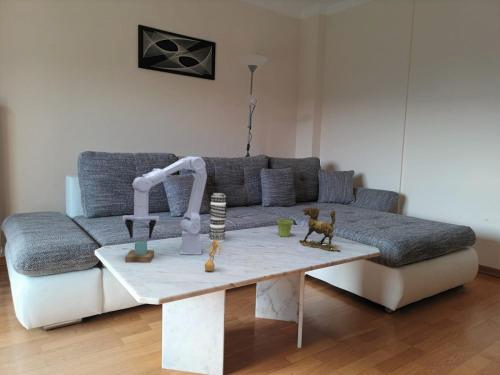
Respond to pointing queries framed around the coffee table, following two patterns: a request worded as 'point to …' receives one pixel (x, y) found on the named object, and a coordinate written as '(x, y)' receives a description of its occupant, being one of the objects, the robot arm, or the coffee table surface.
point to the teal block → (140, 247)
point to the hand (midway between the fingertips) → (140, 237)
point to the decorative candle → (217, 217)
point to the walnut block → (139, 257)
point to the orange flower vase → (209, 264)
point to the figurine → (319, 230)
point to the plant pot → (284, 227)
